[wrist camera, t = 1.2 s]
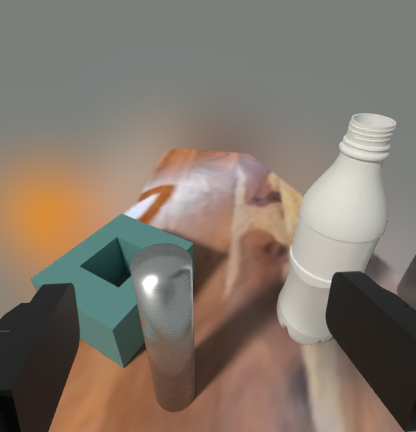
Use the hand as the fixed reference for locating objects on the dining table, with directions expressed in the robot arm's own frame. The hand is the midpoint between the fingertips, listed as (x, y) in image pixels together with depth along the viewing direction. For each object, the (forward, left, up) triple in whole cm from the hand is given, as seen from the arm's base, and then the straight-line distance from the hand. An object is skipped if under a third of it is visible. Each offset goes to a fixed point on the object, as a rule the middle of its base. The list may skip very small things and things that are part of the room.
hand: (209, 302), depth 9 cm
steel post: (-5, -7, -25) cm, 26 cm away
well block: (-11, -19, -25) cm, 33 cm away
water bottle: (-19, +2, -25) cm, 32 cm away
